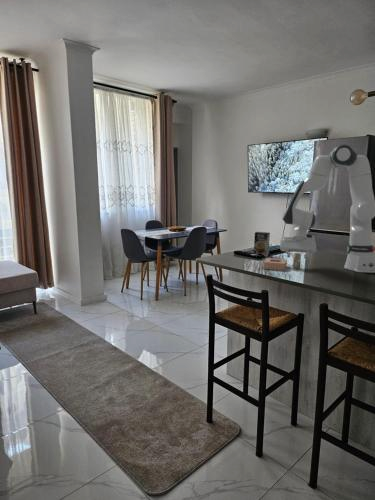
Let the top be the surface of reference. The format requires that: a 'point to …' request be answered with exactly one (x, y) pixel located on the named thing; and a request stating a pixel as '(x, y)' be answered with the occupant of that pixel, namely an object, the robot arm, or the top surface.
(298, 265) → the ash peg
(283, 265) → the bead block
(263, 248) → the coffee box
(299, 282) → the top surface
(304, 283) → the top surface
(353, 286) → the top surface
